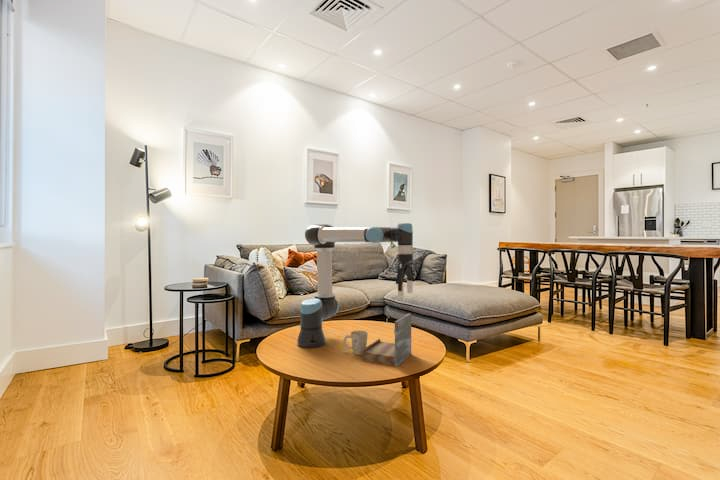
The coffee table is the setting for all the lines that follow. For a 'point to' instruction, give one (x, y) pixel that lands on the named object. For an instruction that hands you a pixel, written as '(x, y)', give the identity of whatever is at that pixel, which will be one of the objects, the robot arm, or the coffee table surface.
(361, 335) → the mug
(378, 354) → the cleat board
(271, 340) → the coffee table surface
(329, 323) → the coffee table surface
